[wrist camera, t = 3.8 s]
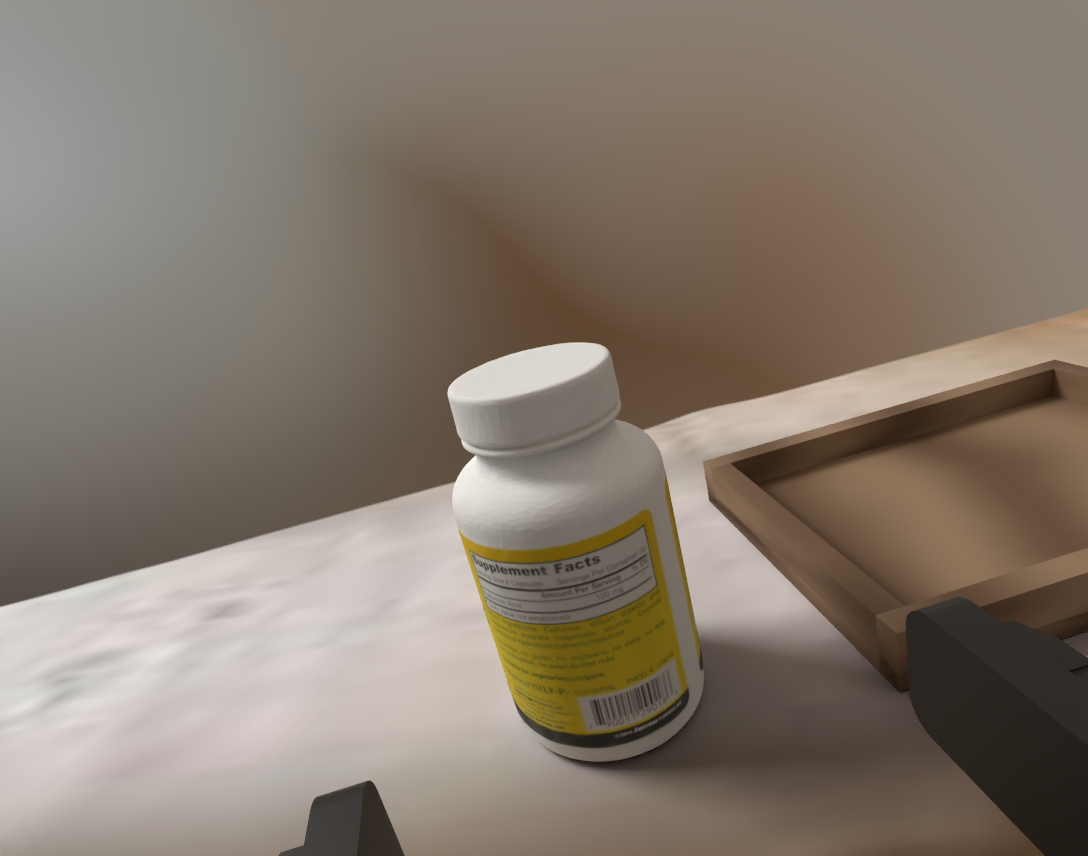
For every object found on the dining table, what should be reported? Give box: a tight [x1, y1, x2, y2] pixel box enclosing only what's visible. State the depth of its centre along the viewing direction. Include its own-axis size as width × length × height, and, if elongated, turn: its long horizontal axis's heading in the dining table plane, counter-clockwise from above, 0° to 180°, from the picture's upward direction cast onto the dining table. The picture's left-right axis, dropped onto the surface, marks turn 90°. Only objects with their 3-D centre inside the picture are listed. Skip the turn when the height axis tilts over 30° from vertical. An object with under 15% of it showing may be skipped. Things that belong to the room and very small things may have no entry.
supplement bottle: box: [448, 343, 704, 762], centre depth 18 cm, size 5×5×10 cm
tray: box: [703, 360, 1088, 692], centre depth 23 cm, size 16×12×2 cm
